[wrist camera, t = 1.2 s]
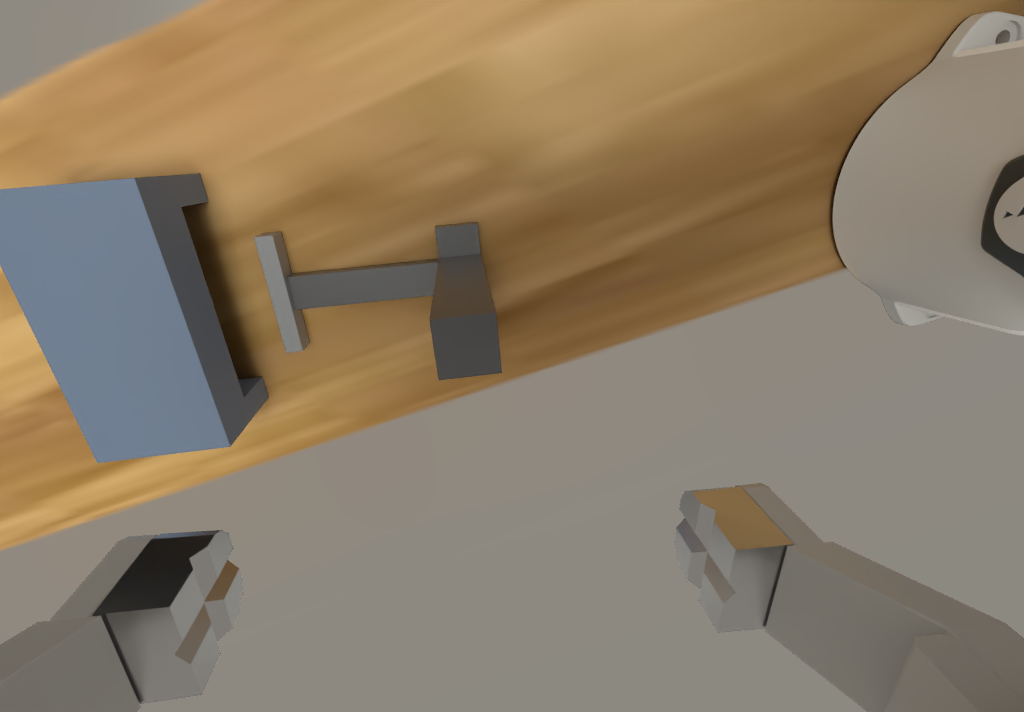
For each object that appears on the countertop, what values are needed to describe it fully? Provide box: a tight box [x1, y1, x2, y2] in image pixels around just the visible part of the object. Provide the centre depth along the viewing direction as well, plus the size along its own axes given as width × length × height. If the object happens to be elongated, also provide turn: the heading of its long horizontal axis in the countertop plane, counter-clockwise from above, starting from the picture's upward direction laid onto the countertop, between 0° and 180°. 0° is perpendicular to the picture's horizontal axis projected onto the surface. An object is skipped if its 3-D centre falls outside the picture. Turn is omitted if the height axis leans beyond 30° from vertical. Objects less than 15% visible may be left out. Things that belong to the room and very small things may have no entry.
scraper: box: [254, 222, 502, 380], centre depth 24 cm, size 12×7×13 cm, turn 95°
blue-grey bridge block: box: [0, 174, 268, 463], centre depth 27 cm, size 7×14×6 cm, turn 5°
